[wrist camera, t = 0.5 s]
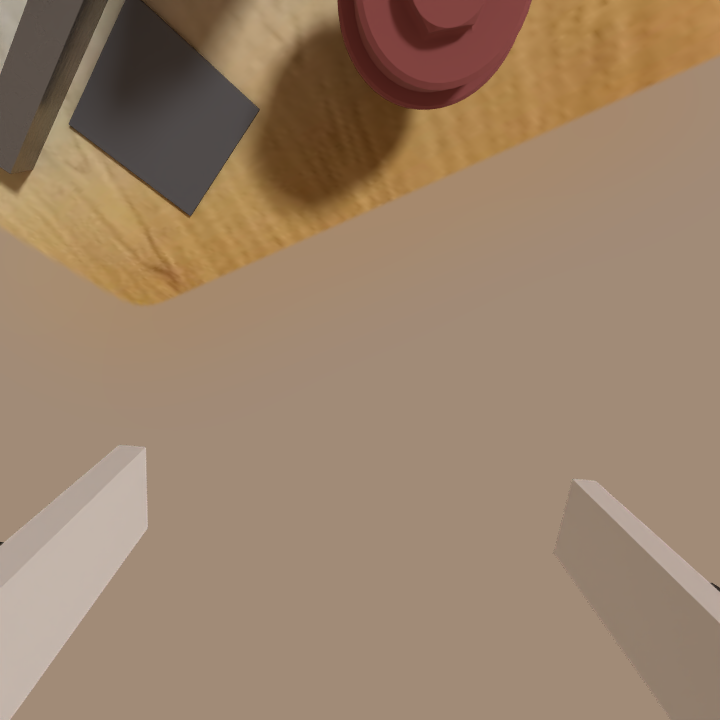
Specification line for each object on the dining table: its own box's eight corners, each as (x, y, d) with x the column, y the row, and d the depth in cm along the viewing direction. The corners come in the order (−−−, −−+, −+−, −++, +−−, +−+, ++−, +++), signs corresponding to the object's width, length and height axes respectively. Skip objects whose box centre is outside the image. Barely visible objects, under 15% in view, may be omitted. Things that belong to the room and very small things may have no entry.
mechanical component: (510, 39, 29) (396, 140, 32) (432, -124, 25) (308, 10, 28) (605, -2, 18) (421, 154, 21) (496, -299, 14) (286, -52, 17)
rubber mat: (132, -8, 27) (129, -10, 27) (259, 109, 31) (259, 109, 30) (70, 123, 31) (68, 124, 30) (191, 215, 34) (190, 215, 34)
